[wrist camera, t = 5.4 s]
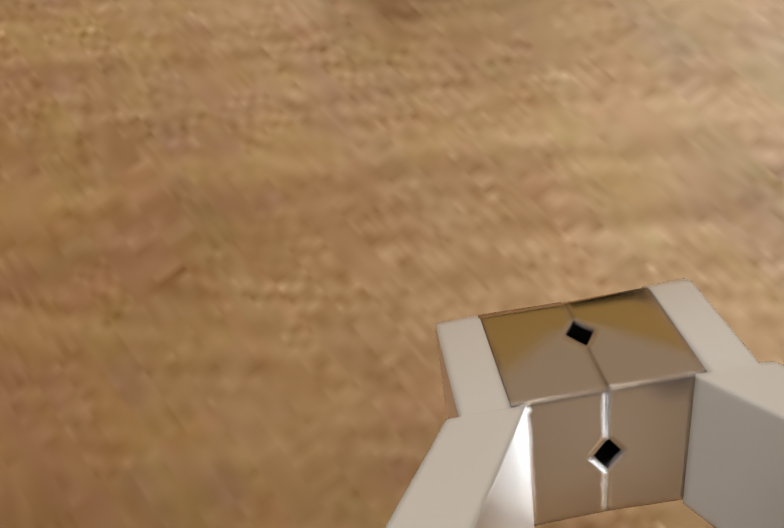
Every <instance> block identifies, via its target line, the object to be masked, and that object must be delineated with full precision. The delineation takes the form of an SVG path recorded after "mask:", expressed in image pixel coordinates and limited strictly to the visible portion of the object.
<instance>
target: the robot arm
mask: <svg viewBox="0 0 784 528" xmlns="http://www.w3.org/2000/svg"><path fill="white" fill-rule="evenodd" d="M435 332H436V339H437V346H438V354H439V361H440V368H441V376H442V383H443V390H444V397H445V403H446V409H447V415H448V419H446V420H445V422H444V424H443V425H442V427H441V429H440V431H439V433H438V434H437V436H436V438H435V440H434V441H433V443H432V445H431V447H430V448H429V450H428V452H427V454H426V456H425V457H424V459H423V461H422V463H421V464H420V466H419V468H418V470H417V472H416V473H415V475H414V477H413V479H412V480H411V482H410V484H409V486H408V488H407V489H406V491H405V493H404V495H403V496H402V498H401V500H400V502H399V504H398V505H397V507H396V509H395V511H394V512H393V514H392V516H391V518H390V520H389V521H388V523H387V525H386V527H385V528H534V526H537V525H542V524H546V523H551V522H556V521H561V520H565V519H570V518H575V517H580V516H585V515H589V514H594V513H599V512H604V511H610V510H616V509H623V508H629V507H636V506H643V505H649V504H656V503H662V502H669V501H676V500H682V499H683V504H685V505H686V506H687V507H689V508H690V509H691V510H693V511H694V512H695V513H697V514H698V515H699V516H701V517H702V518H703V519H704V520H706V521H707V522H708V523H710V524H711V525H712V526H714V527H715V528H784V365H782V364H779V363H777V362H775V361H770V362H764V363H760V362H759V361H758V360H757V359H756V358H755V356H754V355H753V354H752V353H751V352H750V350H749V349H748V348H747V347H746V346H745V344H744V343H743V342H742V341H741V340H740V338H739V337H738V336H737V335H736V334H735V332H734V331H733V330H732V329H731V328H730V326H729V325H728V324H727V323H726V322H725V320H724V319H723V318H722V317H721V316H720V314H719V313H718V312H717V311H716V310H715V308H714V307H713V306H712V305H711V304H710V302H709V301H708V300H707V299H706V298H705V296H704V295H703V294H702V293H701V292H700V290H699V289H698V288H697V287H696V285H695V284H694V283H693V282H692V281H690V280H688V279H685V278H682V279H677V280H672V281H667V282H662V283H657V284H652V285H647V286H643V287H642V288H640V289H634V290H629V291H623V292H618V293H612V294H607V295H601V296H596V297H590V298H585V299H579V300H574V301H568V302H563V303H561V302H559V303H552V304H546V305H540V306H533V307H527V308H520V309H514V310H507V311H501V312H494V313H488V314H482V315H478V317H477V316H470V317H465V318H459V319H453V320H447V321H441V322H436V330H435Z"/></svg>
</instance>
